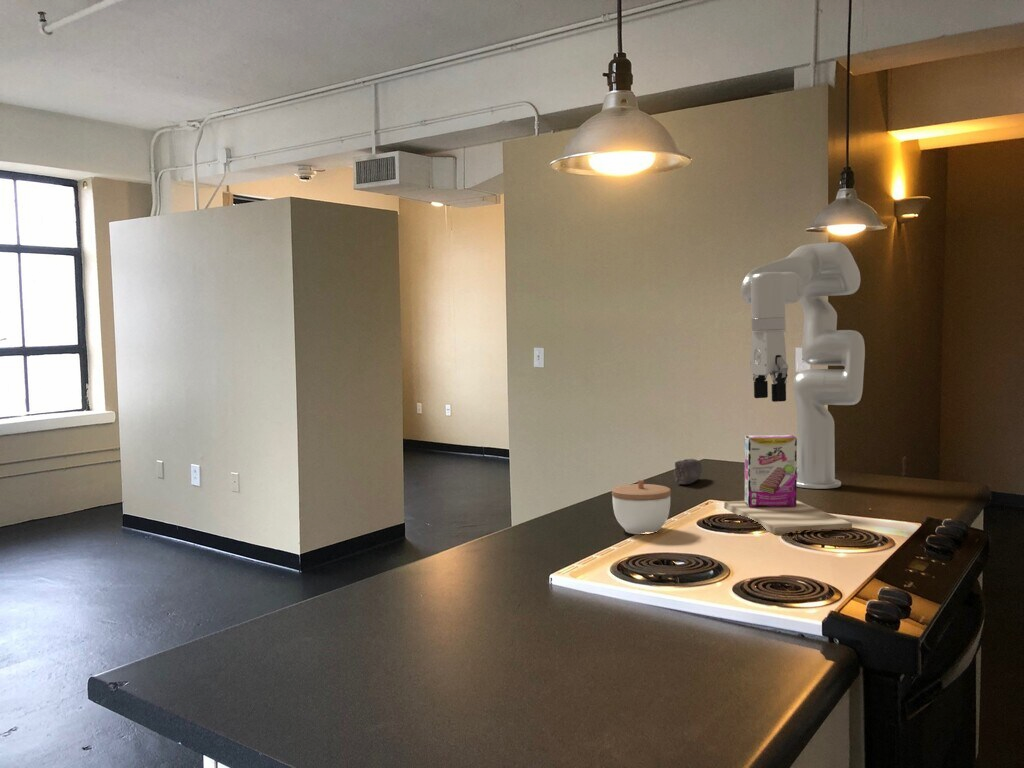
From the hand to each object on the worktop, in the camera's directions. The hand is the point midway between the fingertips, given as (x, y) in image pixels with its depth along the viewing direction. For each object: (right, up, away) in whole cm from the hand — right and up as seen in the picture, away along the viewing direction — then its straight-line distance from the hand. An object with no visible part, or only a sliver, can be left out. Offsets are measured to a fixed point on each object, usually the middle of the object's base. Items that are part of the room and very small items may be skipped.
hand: (769, 399), depth 192 cm
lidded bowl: (-32, -28, -14) cm, 45 cm away
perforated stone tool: (-9, -25, +43) cm, 50 cm away
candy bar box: (+1, -25, +1) cm, 25 cm away
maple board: (+1, -27, -6) cm, 27 cm away
